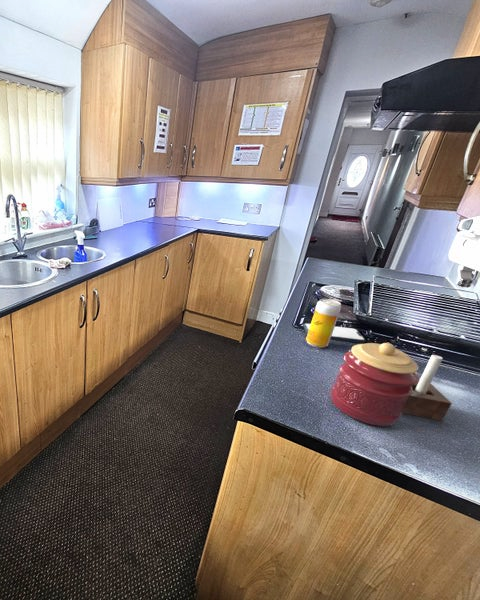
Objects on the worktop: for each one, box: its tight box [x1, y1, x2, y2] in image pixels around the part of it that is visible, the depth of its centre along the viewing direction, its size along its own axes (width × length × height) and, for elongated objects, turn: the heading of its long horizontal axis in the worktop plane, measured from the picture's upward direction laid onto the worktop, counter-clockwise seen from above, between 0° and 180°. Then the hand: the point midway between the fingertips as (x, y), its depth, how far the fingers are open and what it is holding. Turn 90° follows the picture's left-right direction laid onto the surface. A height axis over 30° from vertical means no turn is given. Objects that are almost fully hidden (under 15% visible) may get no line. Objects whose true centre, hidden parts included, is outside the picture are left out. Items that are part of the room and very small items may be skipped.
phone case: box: [302, 322, 366, 344], centre depth 112 cm, size 9×2×16 cm
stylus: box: [415, 354, 444, 394], centre depth 76 cm, size 2×2×14 cm
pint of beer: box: [305, 298, 342, 349], centre depth 103 cm, size 6×6×15 cm
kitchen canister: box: [329, 342, 420, 427], centre depth 75 cm, size 13×13×18 cm
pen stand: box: [402, 382, 453, 422], centre depth 78 cm, size 8×8×5 cm
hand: (477, 293), depth 69 cm, fingers open, 8 cm apart
